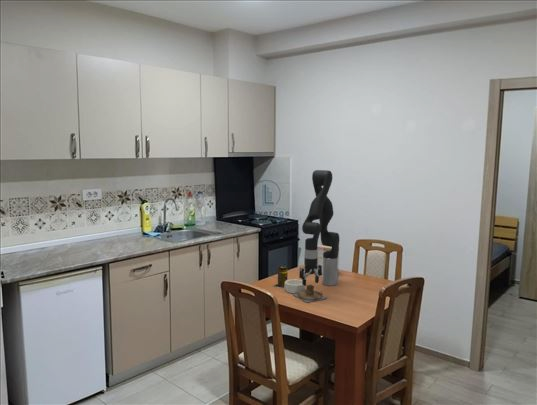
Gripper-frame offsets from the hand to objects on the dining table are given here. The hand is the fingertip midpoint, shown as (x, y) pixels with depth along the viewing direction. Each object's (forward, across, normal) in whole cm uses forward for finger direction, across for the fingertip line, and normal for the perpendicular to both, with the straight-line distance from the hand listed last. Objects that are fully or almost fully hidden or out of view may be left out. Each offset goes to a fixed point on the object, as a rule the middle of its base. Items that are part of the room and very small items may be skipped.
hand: (310, 284), depth 243 cm
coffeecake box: (+9, -37, -33) cm, 51 cm away
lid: (+7, 0, 0) cm, 7 cm away
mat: (+8, 0, 0) cm, 8 cm away
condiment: (+8, +4, -25) cm, 26 cm away
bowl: (+8, +1, -14) cm, 16 cm away
